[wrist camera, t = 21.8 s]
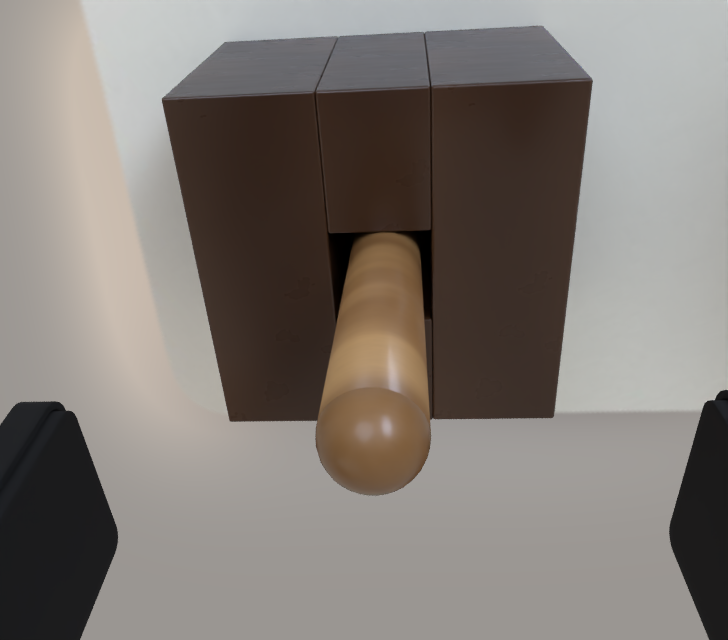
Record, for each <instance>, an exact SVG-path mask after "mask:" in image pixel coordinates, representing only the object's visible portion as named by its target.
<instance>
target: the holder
mask: <svg viewBox="0 0 728 640" xmlns="http://www.w3.org/2000/svg"><path fill="white" fill-rule="evenodd" d="M592 82H593V80H592V78H591V77H590V76H589V75H588V74H587V73H586V72H585V71H584V70H583V68H582V67H581V66H580V65H579V64H578V63H577V62H576V61H575V60H574V59H573V58H572V57H571V56H570V55H569V53H568V52H567V51H566V50H565V49H564V48H563V47H562V46H561V45H560V44H559V43H558V42H557V41H556V40H555V38H554V37H553V36H552V35H551V34H550V33H549V32H548V31H547V30H546V29H545V28H544V27H543V26H528V27H509V28H490V29H471V30H451V31H432V32H425V34H424V33H423V32H413V33H394V34H375V35H356V36H340V37H339V38H338V37H336V36H335V37H316V38H297V39H278V40H258V41H239V42H225V43H224V44H222V45H221V46H220V47H219V48H218V49H217V50H216V51H215V52H213V53H212V54H211V55H210V56H209V57H208V58H207V59H206V60H205V61H203V62H202V63H201V64H200V65H199V66H198V67H197V68H196V69H195V70H193V71H192V72H191V73H190V74H189V75H188V76H187V77H186V78H185V79H183V80H182V81H181V82H180V83H179V84H178V85H177V86H176V87H174V88H173V89H172V90H171V91H170V92H169V93H168V94H167V95H166V96H164V97H163V98H162V103H163V108H164V113H165V117H166V122H167V127H168V132H169V136H170V141H171V146H172V150H173V155H174V160H175V165H176V169H177V174H178V179H179V184H180V188H181V193H182V198H183V202H184V207H185V212H186V217H187V221H188V226H189V231H190V235H191V240H192V245H193V250H194V254H195V259H196V264H197V269H198V273H199V278H200V283H201V287H202V292H203V297H204V302H205V306H206V311H207V316H208V321H209V325H210V330H211V335H212V339H213V344H214V349H215V354H216V358H217V363H218V368H219V373H220V377H221V382H222V387H223V391H224V396H225V401H226V406H227V410H228V415H229V420H230V421H232V422H233V421H234V422H236V421H318V415H319V410H320V405H321V400H322V395H323V390H324V385H325V380H326V375H327V370H328V365H329V360H330V355H331V350H332V345H333V340H334V335H335V329H336V324H337V319H338V314H339V309H340V304H341V299H342V294H343V289H344V284H345V279H346V274H347V269H348V264H349V259H350V254H351V249H352V243H353V238H354V233H360V232H392V231H419V237H420V254H421V272H422V289H423V307H424V324H425V342H426V359H427V377H428V394H429V412H430V419H432V418H434V419H491V418H492V419H495V418H496V419H497V418H498V419H499V418H553V416H554V411H555V402H556V393H557V385H558V376H559V367H560V359H561V350H562V342H563V333H564V324H565V316H566V307H567V298H568V290H569V281H570V272H571V264H572V255H573V246H574V238H575V229H576V221H577V212H578V203H579V195H580V186H581V177H582V169H583V160H584V151H585V143H586V134H587V125H588V117H589V108H590V100H591V91H592Z"/></svg>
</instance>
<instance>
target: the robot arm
mask: <svg viewBox="0 0 728 640" xmlns="http://www.w3.org/2000/svg"><path fill="white" fill-rule="evenodd" d="M669 532H670V533H669V534H670V542H671V546H672V549H673V552H674V555H675V557H676V560H677V562H678V564H679V567H680V569H681V572H682V574H683V576H684V579H685V582H686V584H687V586H688V589H689V591H690V594H691V596H692V599H693V601H694V604H695V606H696V608H697V611H698V613H699V616H700V618H701V621H702V623H703V625H704V628H705V630H706V633H707V635H708V638H709V640H728V390H723V391H720V392H719V393H718V395H717V396H716V399H715V400H710V401H707V402H706V403H705V404H704V407H703V410H702V413H701V417H700V420H699V424H698V427H697V431H696V434H695V438H694V441H693V445H692V449H691V452H690V456H689V459H688V463H687V466H686V470H685V473H684V477H683V481H682V484H681V487H680V491H679V495H678V498H677V501H676V505H675V508H674V512H673V515H672V519H671V523H670V531H669ZM117 543H118V532H117V527H116V524H115V521H114V518H113V516H112V513H111V510H110V508H109V505H108V502H107V499H106V497H105V494H104V491H103V489H102V486H101V483H100V480H99V478H98V475H97V472H96V469H95V467H94V464H93V461H92V458H91V456H90V453H89V450H88V448H87V445H86V442H85V439H84V437H83V434H82V431H81V429H80V426H79V423H78V420H77V418H76V416H75V414H74V413H73V412H72V411H66V410H65V408H64V406H63V405H62V404H61V403H60V402H20V403H18V404H16V405H15V406H14V407H13V408H12V409H11V411H10V412H9V414H8V415H7V417H6V418H5V419H4V421H3V422H2V423H1V425H0V640H80V638H81V636H82V633H83V631H84V628H85V626H86V623H87V621H88V619H89V616H90V614H91V611H92V609H93V606H94V604H95V601H96V599H97V596H98V594H99V591H100V589H101V586H102V584H103V582H104V579H105V577H106V574H107V571H108V569H109V567H110V564H111V561H112V559H113V557H114V554H115V551H116V548H117Z"/></svg>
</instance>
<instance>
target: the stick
mask: <svg viewBox="0 0 728 640" xmlns="http://www.w3.org/2000/svg"><path fill="white" fill-rule="evenodd" d="M430 441H431V429H430V412H429V394H428V377H427V359H426V342H425V324H424V307H423V289H422V272H421V254H420V237H419V231H392V232H360V233H354V238H353V243H352V249H351V254H350V259H349V264H348V269H347V274H346V279H345V284H344V289H343V294H342V299H341V304H340V309H339V314H338V319H337V324H336V329H335V335H334V340H333V345H332V350H331V355H330V360H329V365H328V370H327V375H326V380H325V385H324V390H323V395H322V400H321V405H320V410H319V415H318V421H317V426H316V448H317V451H318V454H319V458H320V461H321V463H322V465H323V467H324V468H325V470H326V471H327V473H328V474H329V475H330V476H331V477H332V478H333V480H334V481H336V482H337V483H338V484H339V485H341V486H342V487H344V488H346V489H348V490H350V491H353V492H356V493H359V494H364V495H383V494H388V493H391V492H395V491H397V490H399V489H401V488H403V487H404V486H405V485H407V484H408V483H409V482H411V481H412V480H413V479H414V478H415V477H416V476H417V474H418V473H419V472H420V471H421V469H422V467H423V465H424V463H425V461H426V459H427V456H428V453H429V449H430Z"/></svg>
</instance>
